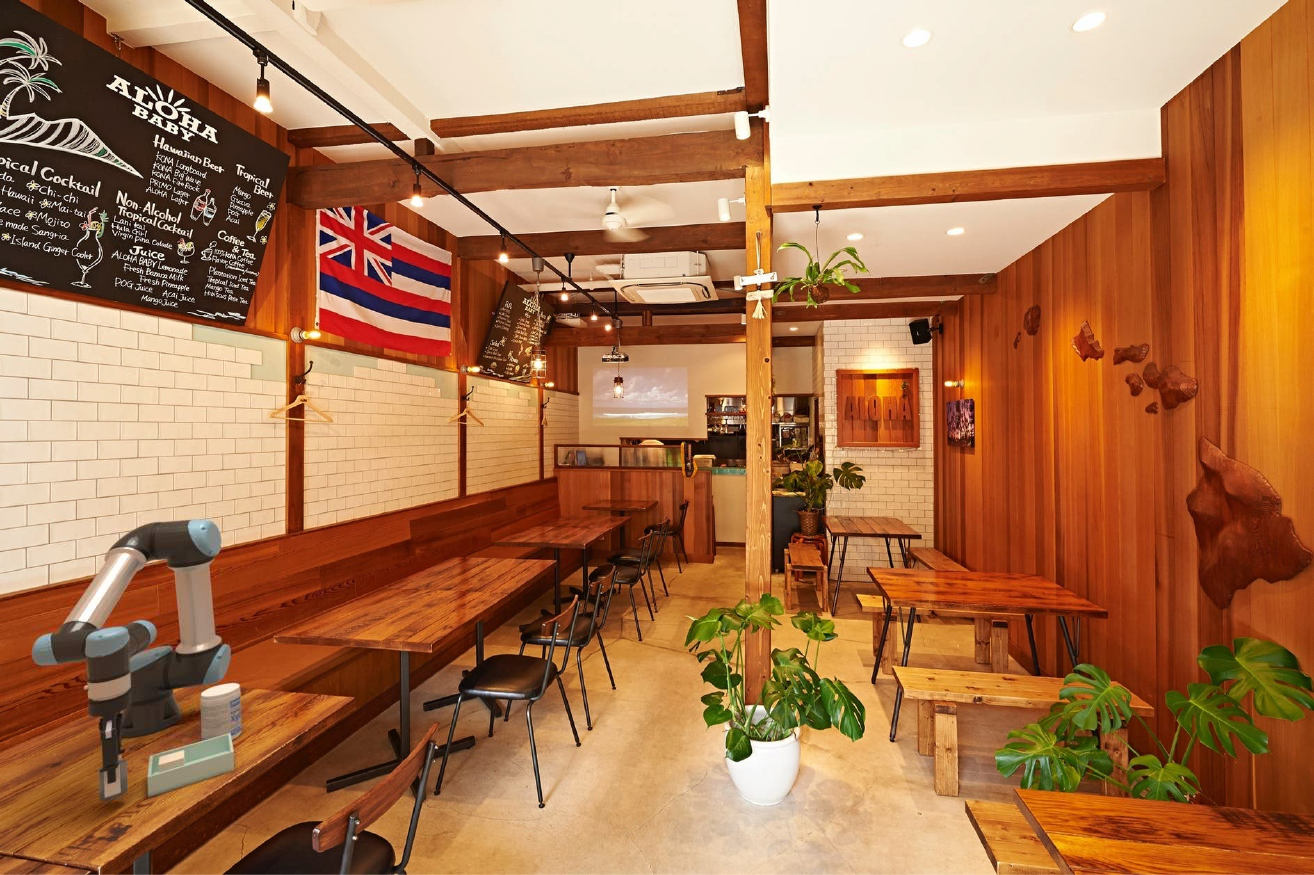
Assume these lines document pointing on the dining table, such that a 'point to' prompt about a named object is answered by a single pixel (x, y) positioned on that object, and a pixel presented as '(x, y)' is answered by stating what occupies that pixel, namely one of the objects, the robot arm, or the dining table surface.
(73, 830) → the dining table surface
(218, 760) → the teal tote
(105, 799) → the charcoal cylinder
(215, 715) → the supplement tub
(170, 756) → the tan cube
